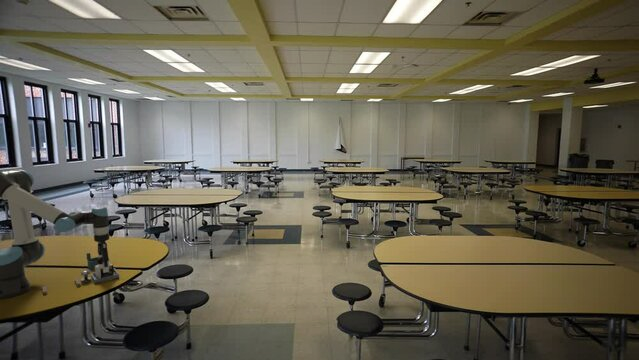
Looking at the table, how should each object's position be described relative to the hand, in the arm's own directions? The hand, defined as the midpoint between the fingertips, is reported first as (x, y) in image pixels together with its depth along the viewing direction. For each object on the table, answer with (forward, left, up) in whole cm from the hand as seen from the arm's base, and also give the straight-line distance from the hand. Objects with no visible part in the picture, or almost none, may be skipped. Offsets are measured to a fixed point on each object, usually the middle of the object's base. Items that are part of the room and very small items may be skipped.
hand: (104, 268), depth 199 cm
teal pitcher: (-1, +24, -6) cm, 25 cm away
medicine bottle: (0, 0, -5) cm, 5 cm away
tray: (0, 0, -6) cm, 6 cm away
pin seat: (-20, +1, -6) cm, 21 cm away
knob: (-9, +3, -6) cm, 11 cm away
